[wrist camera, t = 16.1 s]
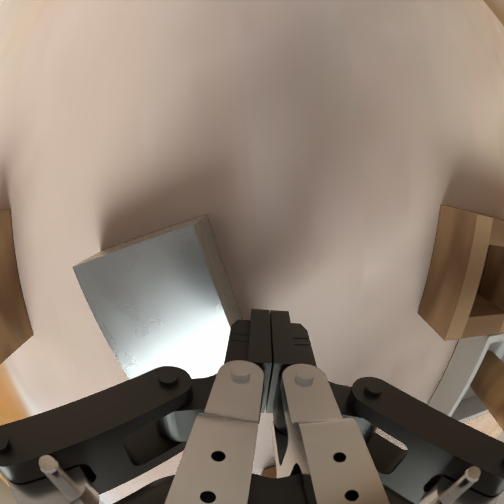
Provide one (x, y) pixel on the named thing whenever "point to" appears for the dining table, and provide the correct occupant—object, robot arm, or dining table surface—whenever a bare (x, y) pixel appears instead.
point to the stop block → (10, 294)
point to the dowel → (491, 386)
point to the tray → (465, 377)
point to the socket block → (465, 276)
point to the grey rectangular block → (163, 300)
